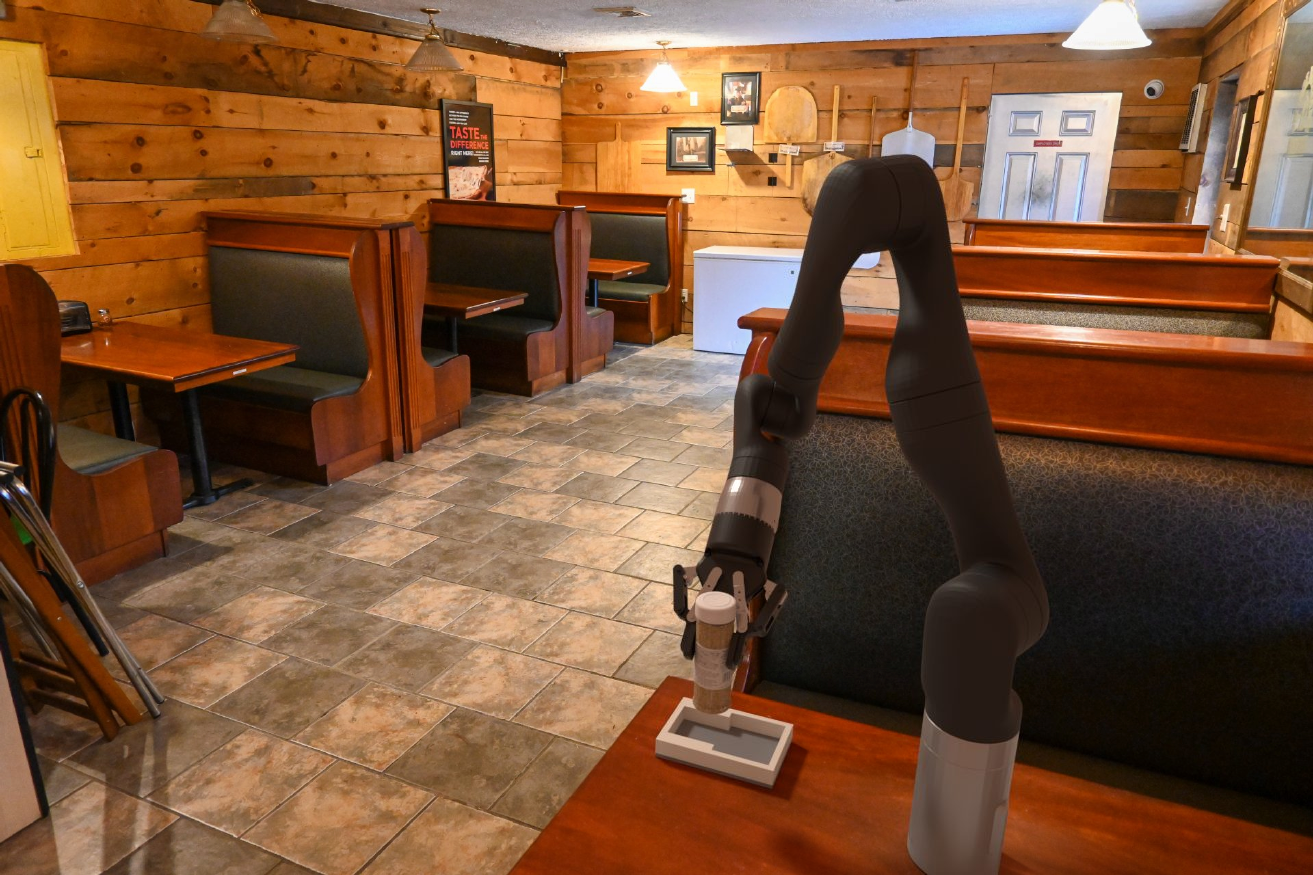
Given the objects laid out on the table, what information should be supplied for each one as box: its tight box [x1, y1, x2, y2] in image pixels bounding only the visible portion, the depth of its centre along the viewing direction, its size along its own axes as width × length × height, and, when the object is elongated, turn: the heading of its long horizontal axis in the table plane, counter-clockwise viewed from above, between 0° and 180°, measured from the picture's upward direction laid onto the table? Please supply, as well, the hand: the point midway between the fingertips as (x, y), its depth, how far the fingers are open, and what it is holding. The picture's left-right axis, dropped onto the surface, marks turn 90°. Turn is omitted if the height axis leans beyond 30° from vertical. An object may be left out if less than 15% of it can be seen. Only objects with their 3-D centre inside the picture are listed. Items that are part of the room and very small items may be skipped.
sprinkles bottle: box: [692, 592, 737, 714], centre depth 97 cm, size 5×5×13 cm
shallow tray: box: [654, 696, 794, 790], centre depth 109 cm, size 15×10×2 cm, turn 68°
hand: (709, 662), depth 96 cm, fingers closed on sprinkles bottle, 4 cm apart
